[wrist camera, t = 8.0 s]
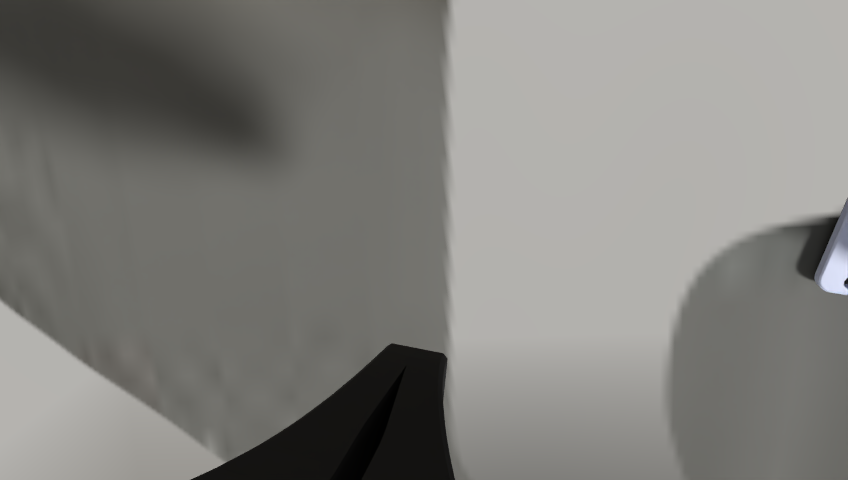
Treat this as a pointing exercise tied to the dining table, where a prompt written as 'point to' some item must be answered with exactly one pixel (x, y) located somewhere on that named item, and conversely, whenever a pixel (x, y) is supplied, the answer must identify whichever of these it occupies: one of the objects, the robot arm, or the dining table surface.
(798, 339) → the dining table surface
